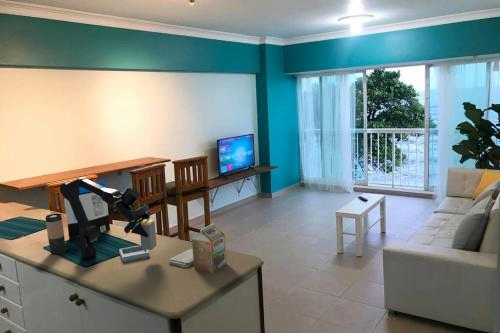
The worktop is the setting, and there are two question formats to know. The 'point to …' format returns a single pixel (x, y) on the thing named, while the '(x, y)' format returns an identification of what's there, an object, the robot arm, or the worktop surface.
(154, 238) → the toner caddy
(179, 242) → the worktop surface
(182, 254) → the washcloth
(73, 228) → the protein powder
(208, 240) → the milk carton
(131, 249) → the tray
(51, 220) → the travel mug
